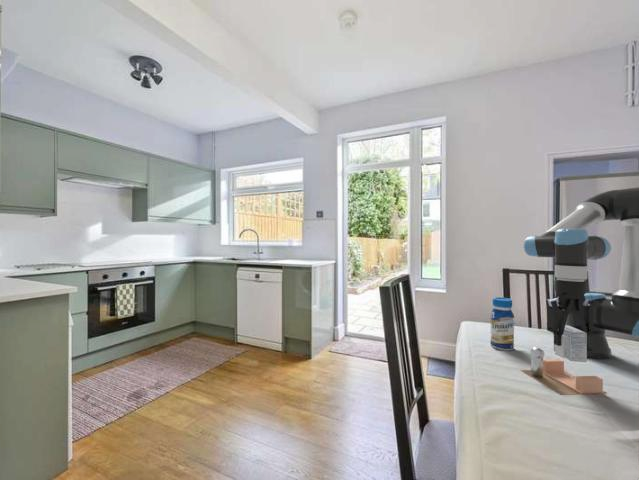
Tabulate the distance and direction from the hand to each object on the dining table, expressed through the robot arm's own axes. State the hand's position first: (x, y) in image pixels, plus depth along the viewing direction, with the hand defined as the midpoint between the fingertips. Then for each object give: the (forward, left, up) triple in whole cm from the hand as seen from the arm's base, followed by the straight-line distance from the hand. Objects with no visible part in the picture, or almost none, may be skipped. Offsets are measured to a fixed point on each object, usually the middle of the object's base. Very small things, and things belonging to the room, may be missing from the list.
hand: (569, 355), depth 88 cm
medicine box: (0, 0, -1) cm, 1 cm away
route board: (+2, -1, -9) cm, 9 cm away
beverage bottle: (-1, -31, -9) cm, 32 cm away
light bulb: (+7, -4, -8) cm, 11 cm away
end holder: (0, 0, -8) cm, 8 cm away
